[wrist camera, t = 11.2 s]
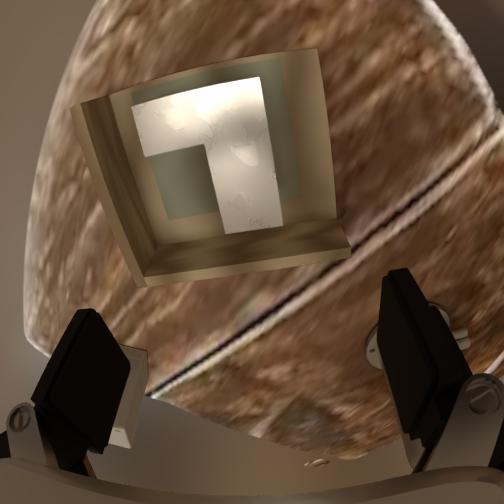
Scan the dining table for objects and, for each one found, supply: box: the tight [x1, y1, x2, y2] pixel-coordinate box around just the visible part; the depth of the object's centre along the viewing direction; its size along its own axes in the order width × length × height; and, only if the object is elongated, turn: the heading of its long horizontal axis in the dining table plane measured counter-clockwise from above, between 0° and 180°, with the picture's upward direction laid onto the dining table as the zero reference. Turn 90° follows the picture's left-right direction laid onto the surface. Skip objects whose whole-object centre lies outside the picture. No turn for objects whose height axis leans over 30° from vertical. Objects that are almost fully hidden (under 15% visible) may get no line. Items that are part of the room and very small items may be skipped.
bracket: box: [131, 76, 283, 234], centre depth 22 cm, size 10×8×6 cm
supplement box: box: [108, 344, 148, 448], centre depth 36 cm, size 7×7×13 cm
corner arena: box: [70, 48, 351, 288], centre depth 24 cm, size 18×16×6 cm
